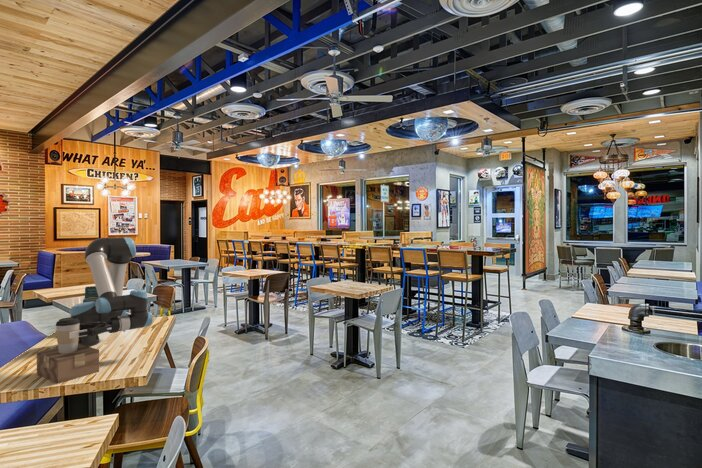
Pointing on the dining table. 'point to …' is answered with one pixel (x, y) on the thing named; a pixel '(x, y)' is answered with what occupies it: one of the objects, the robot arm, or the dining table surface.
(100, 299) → the robot arm
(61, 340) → the coffee cup
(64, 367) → the walnut box
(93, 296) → the donation box
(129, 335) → the dining table surface
